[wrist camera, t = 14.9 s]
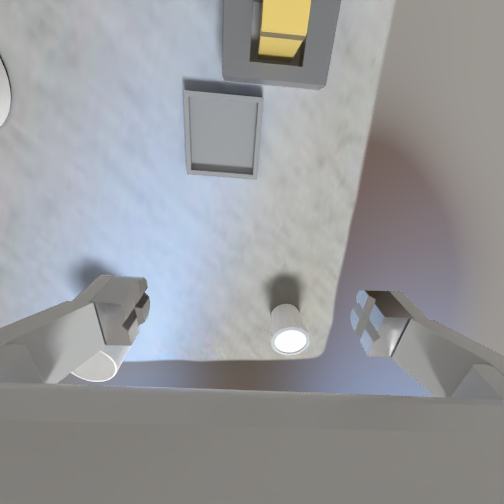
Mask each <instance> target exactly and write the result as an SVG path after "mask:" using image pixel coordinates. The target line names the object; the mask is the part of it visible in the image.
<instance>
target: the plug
mask: <svg viewBox="0 0 504 504" xmlns="http://www.w3.org/2000/svg"><path fill="white" fill-rule="evenodd" d="M310 7H311V0H262V9H261V20H260V35H259V49H258V59H262V60H272V61H282V62H291V60H292V59H293V57H294V55H295V53H296V52H297V50H298V48H299V46H300V45H301V43H302V41H304V39H305V38H306V34H307V28H308V21H309V14H310Z"/></svg>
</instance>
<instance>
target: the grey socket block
mask: <svg viewBox="0 0 504 504" xmlns="http://www.w3.org/2000/svg"><path fill="white" fill-rule="evenodd" d="M340 4H341V0H311V7H310V14H309V21H308V28H307V34H306V38H305V39H304V41H302V43H301V45H300V46H299V48H298V50H297V52H296V53H295V55H294V57H293V59H292V60H291V62H282V61H272V60H262V59H258V49H259V35H260V20H261V9H262V0H224V8H223V65H222V76H223V78H224V80H225V82H234V83H245V84H255V85H265V86H276V87H286V88H296V89H307V90H317V91H318V90H320V89H321V88H323V87H324V86H326V81H327V76H328V70H329V65H330V59H331V54H332V48H333V43H334V37H335V31H336V26H337V20H338V15H339V9H340Z"/></svg>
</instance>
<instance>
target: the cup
mask: <svg viewBox="0 0 504 504" xmlns="http://www.w3.org/2000/svg"><path fill="white" fill-rule="evenodd" d="M139 330H140V325H139ZM130 347H131V346H111V345H105V347H104V348H103V349H102V350H100V351H99V352H98V353H96V354H95V355H94V356H92V357H91V358H90V359H88V360H87V361H86V362H84V363H83V364H82V365H80V366H79V367H78V368H76V369H75V370H74V371H72V372H71V373H72V374H74V375H75V376H77V377H79V378H81V379H84V380H88V381H95V382H100V381H106V380H109V379H111V378H112V377H113V376H114V375H115V374H116V372H117V371H118V369H119V367H120V365H121V363H122V362H123V360H124V358H125V356H126V354H127V353H128V351H129V349H130Z"/></svg>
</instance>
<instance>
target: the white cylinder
mask: <svg viewBox="0 0 504 504" xmlns="http://www.w3.org/2000/svg"><path fill="white" fill-rule="evenodd" d="M309 343H310V337H309V335H308V332H307V330H306V328H305V325H304V323H303V321H302V318H301V316H300V314H299V311H298V309H297V308H296V307H295V306H294V305H291V304H281V305H278V306H277V307H275V308H274V309H273V311H272V312H271V345H272V347H273V349H274V350H275V351H276V352H278V353H280V354H283V355H295V354H298V353H301V352H302V351H304V350H305V349H306V348H307V347H308V345H309Z"/></svg>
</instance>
